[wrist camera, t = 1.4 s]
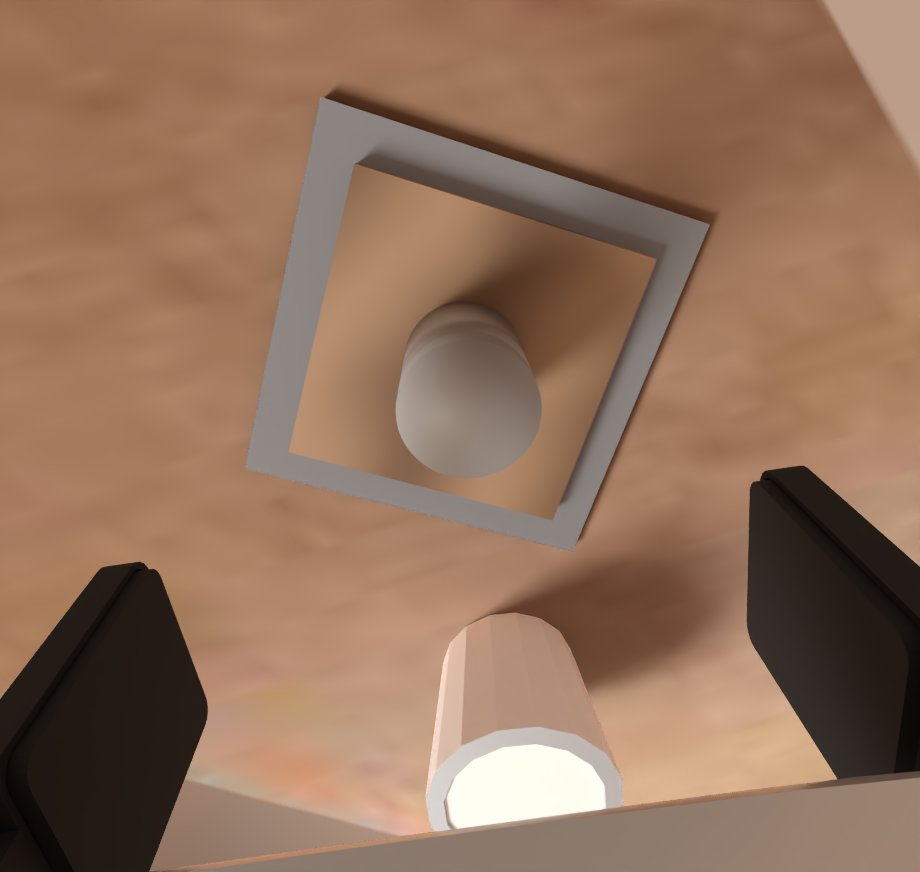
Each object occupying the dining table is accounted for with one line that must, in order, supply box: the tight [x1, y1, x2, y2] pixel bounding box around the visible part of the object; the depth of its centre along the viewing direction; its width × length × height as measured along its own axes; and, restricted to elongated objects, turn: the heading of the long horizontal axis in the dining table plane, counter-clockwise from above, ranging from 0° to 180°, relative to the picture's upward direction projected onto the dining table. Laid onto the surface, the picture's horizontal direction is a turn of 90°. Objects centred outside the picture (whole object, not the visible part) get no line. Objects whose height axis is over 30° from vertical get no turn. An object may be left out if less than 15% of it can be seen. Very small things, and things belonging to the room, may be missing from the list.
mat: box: [245, 97, 710, 552], centre depth 25 cm, size 13×13×1 cm
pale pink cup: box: [426, 612, 623, 832], centre depth 27 cm, size 7×7×7 cm
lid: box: [289, 163, 657, 520], centre depth 22 cm, size 10×10×6 cm
